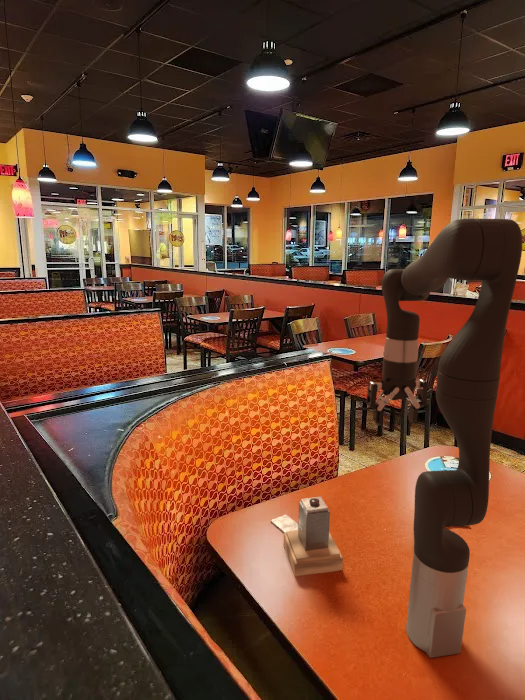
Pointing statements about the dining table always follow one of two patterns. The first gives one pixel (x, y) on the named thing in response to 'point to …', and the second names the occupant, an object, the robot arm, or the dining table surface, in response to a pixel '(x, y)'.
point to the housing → (313, 523)
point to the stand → (311, 556)
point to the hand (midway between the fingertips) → (395, 423)
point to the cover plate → (285, 523)
